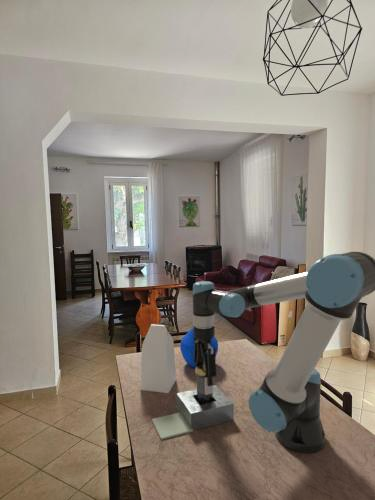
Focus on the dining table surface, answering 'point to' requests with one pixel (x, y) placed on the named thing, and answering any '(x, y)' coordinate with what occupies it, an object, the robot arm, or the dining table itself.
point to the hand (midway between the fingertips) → (204, 388)
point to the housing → (205, 409)
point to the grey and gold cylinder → (202, 386)
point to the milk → (158, 360)
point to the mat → (171, 425)
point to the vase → (188, 347)
